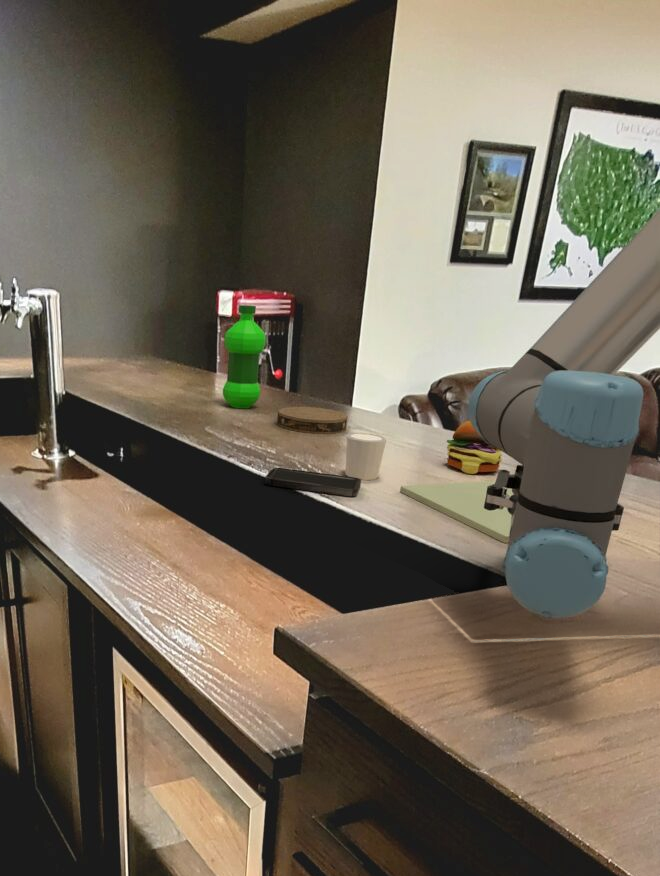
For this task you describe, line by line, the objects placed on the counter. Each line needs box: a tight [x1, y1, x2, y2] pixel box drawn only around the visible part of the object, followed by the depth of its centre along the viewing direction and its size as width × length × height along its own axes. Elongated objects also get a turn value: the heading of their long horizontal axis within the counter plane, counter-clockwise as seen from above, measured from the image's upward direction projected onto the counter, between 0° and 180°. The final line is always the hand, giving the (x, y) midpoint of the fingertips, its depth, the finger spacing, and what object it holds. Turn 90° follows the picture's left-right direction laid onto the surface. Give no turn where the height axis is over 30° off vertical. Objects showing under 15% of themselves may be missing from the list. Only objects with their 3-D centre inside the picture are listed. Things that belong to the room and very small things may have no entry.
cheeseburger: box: [446, 420, 503, 475], centre depth 136 cm, size 10×11×10 cm
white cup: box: [345, 432, 387, 481], centre depth 126 cm, size 7×7×7 cm
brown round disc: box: [276, 406, 348, 435], centre depth 166 cm, size 16×16×3 cm
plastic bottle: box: [222, 304, 267, 409], centre depth 182 cm, size 10×10×25 cm
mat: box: [399, 480, 513, 544], centre depth 111 cm, size 24×18×1 cm
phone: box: [264, 467, 362, 497], centre depth 119 cm, size 8×1×15 cm
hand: (549, 473), depth 91 cm, fingers closed on bottle, 4 cm apart
